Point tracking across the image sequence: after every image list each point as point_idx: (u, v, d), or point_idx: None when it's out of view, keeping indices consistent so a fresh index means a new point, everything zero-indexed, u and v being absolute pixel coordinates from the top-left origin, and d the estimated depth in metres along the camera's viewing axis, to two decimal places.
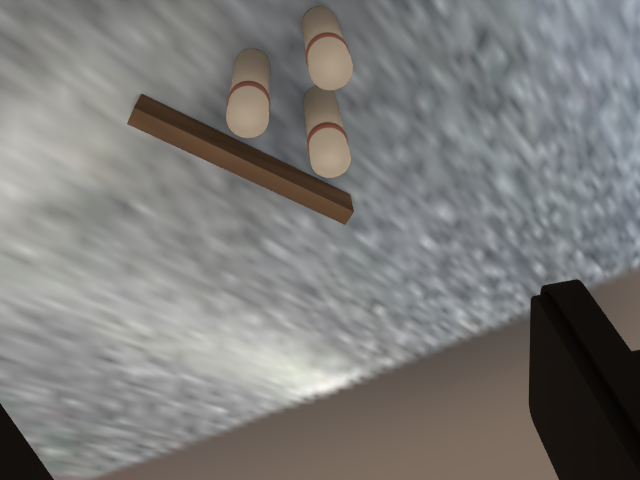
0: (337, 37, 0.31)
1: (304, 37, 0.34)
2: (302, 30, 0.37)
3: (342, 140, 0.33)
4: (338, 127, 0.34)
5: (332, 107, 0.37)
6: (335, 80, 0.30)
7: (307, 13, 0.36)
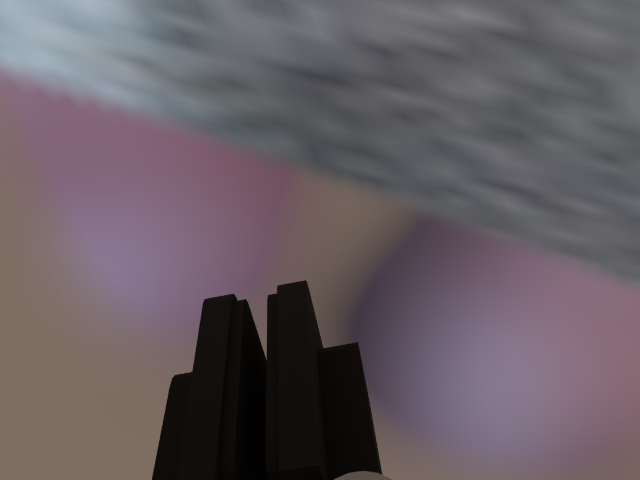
0: None
1: None
2: None
3: None
4: None
5: None
6: None
7: None
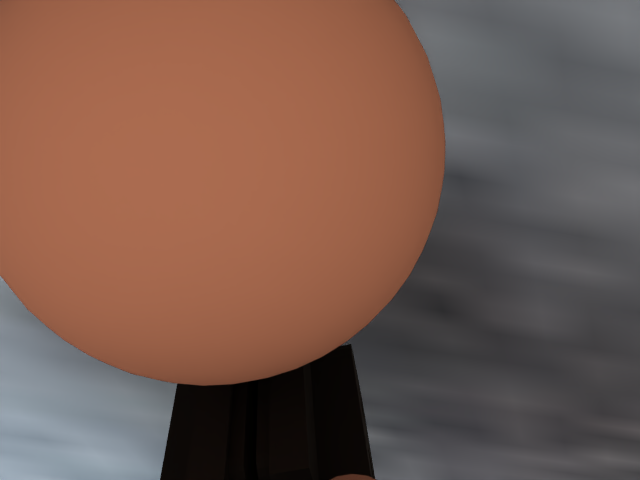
0: None
1: None
2: None
3: None
4: None
5: None
6: None
7: None
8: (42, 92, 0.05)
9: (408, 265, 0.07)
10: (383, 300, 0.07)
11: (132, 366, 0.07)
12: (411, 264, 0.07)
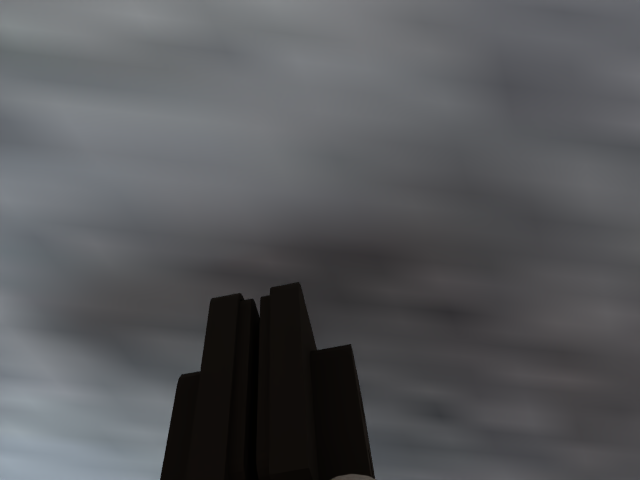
0: None
1: None
2: None
3: None
4: None
5: None
6: None
7: None
8: None
9: None
10: None
11: None
12: None
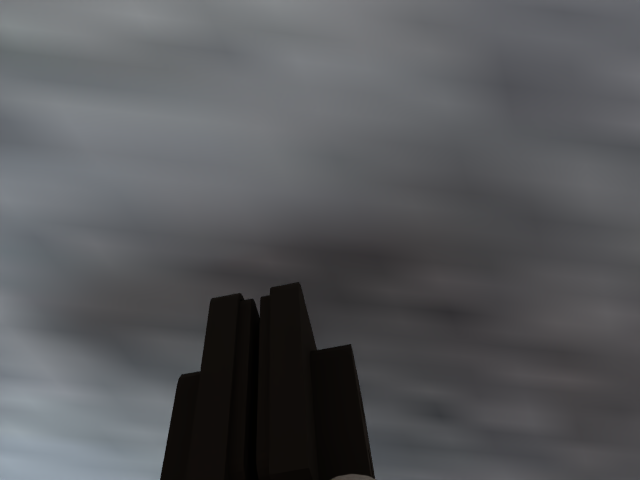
0: None
1: None
2: None
3: None
4: None
5: None
6: None
7: None
8: None
9: None
10: None
11: None
12: None
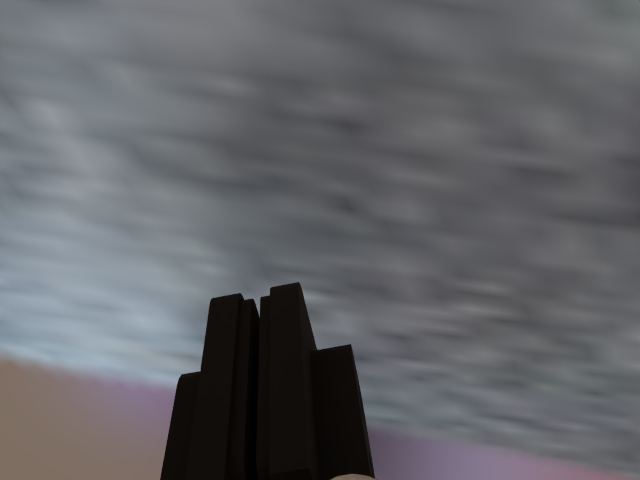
0: None
1: None
2: None
3: None
4: None
5: None
6: None
7: None
8: None
9: None
10: None
11: None
12: None
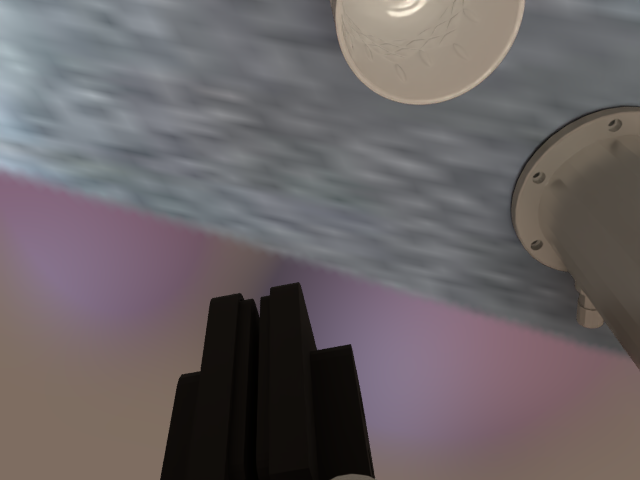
0: None
1: None
2: None
3: None
4: None
5: None
6: None
7: None
8: None
9: None
10: None
11: None
12: None
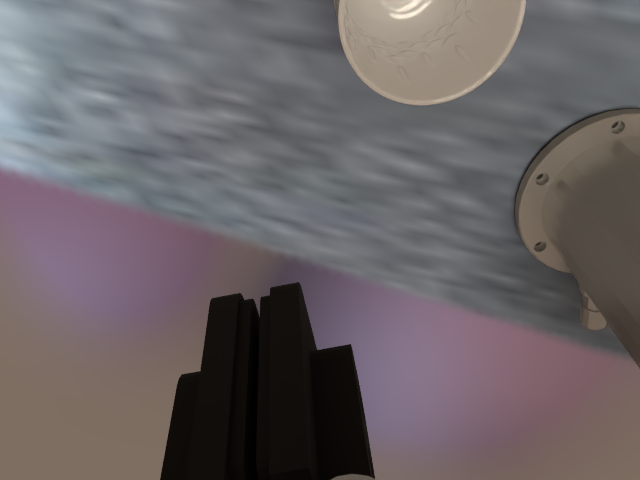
0: None
1: None
2: None
3: None
4: None
5: None
6: None
7: None
8: None
9: None
10: None
11: None
12: None
